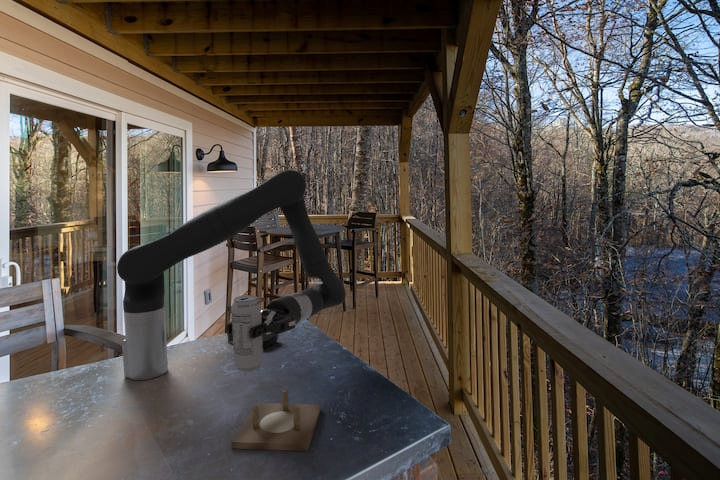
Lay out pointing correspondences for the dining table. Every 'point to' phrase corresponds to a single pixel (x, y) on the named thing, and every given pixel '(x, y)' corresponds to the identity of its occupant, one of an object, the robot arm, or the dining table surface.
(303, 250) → the robot arm
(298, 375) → the dining table surface
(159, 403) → the dining table surface
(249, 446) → the pin base
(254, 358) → the energy drink can
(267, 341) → the black sponge
